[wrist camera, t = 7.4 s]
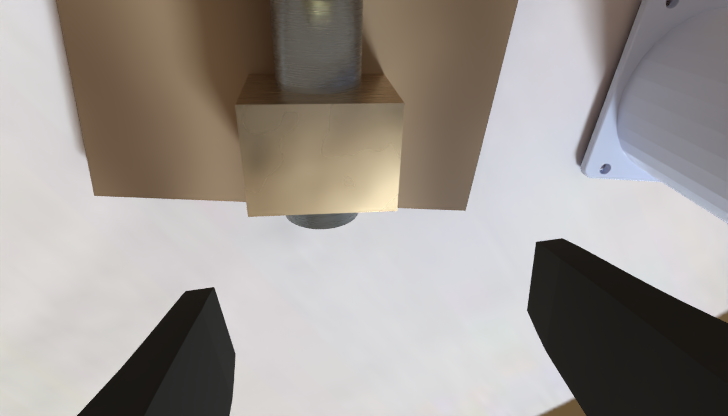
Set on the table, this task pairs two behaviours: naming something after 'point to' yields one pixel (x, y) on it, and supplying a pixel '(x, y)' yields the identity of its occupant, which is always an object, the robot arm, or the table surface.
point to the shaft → (319, 121)
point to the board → (256, 56)
